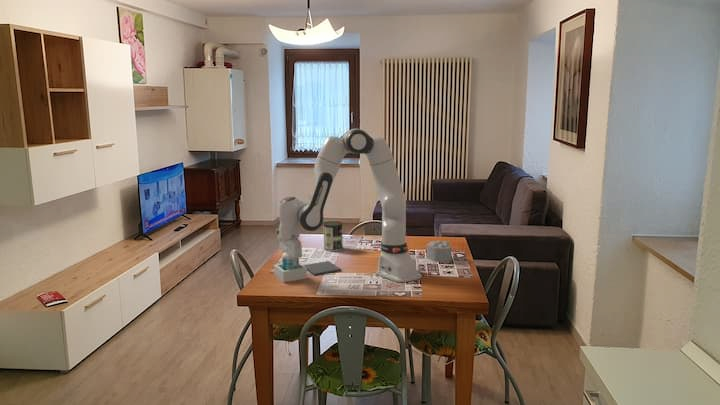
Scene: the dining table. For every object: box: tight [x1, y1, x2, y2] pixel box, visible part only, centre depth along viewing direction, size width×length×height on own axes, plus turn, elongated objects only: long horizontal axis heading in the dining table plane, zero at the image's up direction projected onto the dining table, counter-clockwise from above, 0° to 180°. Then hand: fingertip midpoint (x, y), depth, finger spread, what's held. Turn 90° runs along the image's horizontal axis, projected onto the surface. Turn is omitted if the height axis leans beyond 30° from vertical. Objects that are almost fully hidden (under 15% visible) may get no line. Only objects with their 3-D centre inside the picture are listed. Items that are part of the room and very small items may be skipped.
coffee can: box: [322, 220, 343, 252], centre depth 298 cm, size 10×10×14 cm
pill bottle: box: [281, 248, 300, 271], centre depth 254 cm, size 8×7×14 cm
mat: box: [302, 260, 342, 276], centre depth 266 cm, size 14×14×1 cm
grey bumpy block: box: [426, 239, 453, 263], centre depth 280 cm, size 10×13×9 cm
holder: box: [273, 262, 308, 283], centre depth 255 cm, size 11×11×5 cm
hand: (290, 262), depth 254 cm, fingers closed on pill bottle, 7 cm apart
